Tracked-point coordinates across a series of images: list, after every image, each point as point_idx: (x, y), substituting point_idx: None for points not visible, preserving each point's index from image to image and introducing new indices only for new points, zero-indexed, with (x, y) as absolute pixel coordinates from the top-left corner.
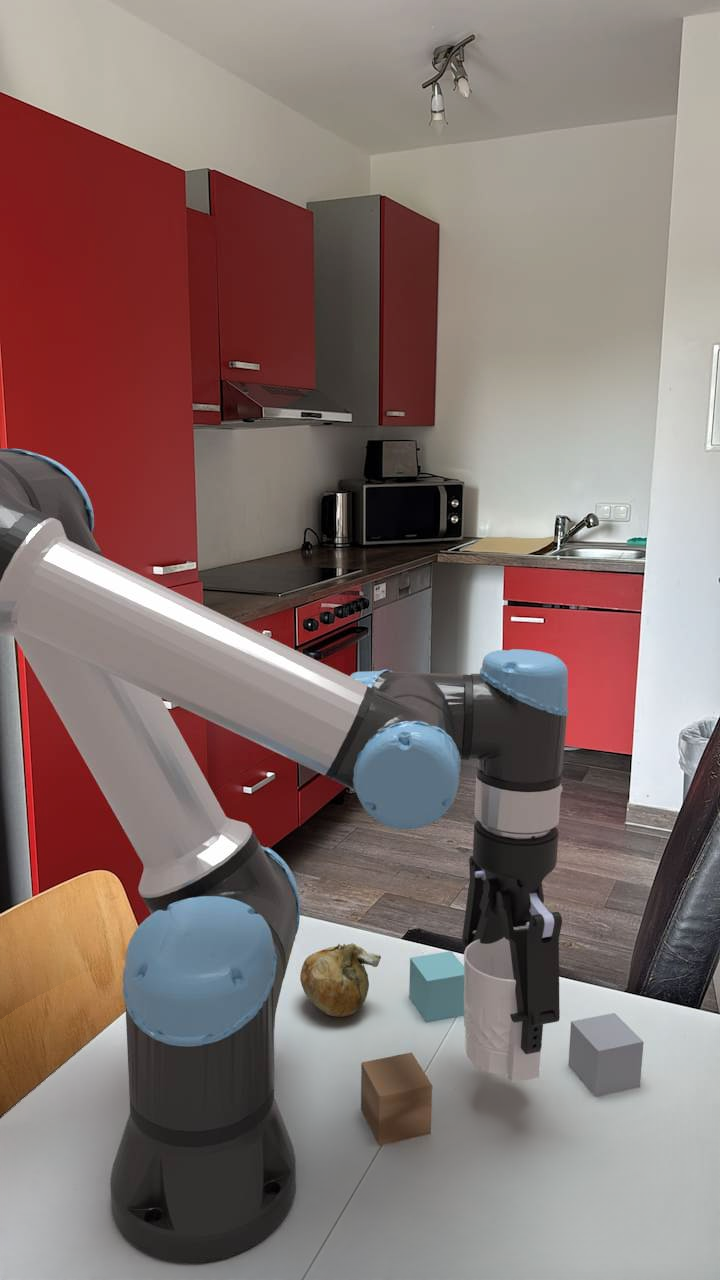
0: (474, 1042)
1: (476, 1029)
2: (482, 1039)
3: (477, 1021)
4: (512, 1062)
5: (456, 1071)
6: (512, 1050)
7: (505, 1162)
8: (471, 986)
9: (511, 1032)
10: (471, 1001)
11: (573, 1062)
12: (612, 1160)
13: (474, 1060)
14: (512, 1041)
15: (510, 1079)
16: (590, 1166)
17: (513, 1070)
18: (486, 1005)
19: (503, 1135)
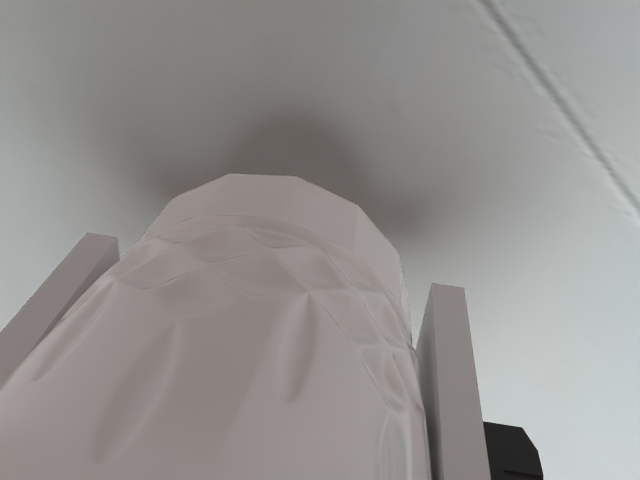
0: (209, 222)
1: (165, 264)
2: (147, 254)
3: (123, 294)
4: (47, 281)
5: (467, 158)
6: (31, 316)
7: (47, 72)
8: (76, 456)
9: (2, 375)
10: (130, 359)
11: None
12: (16, 301)
13: (228, 181)
14: (11, 345)
15: (97, 238)
16: (4, 252)
17: (61, 264)
18: (4, 406)
19: (150, 128)
